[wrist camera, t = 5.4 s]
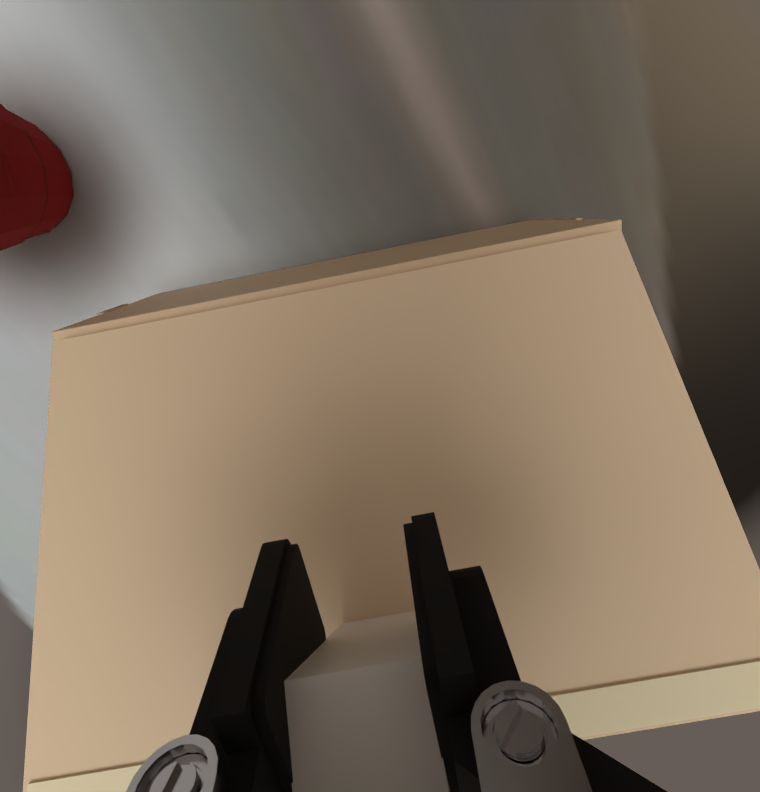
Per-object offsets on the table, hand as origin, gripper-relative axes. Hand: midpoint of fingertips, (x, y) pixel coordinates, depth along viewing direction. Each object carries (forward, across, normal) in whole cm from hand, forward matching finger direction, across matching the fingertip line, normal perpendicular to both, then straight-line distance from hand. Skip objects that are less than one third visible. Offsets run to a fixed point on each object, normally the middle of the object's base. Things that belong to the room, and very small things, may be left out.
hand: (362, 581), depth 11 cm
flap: (+5, 0, +1) cm, 5 cm away
